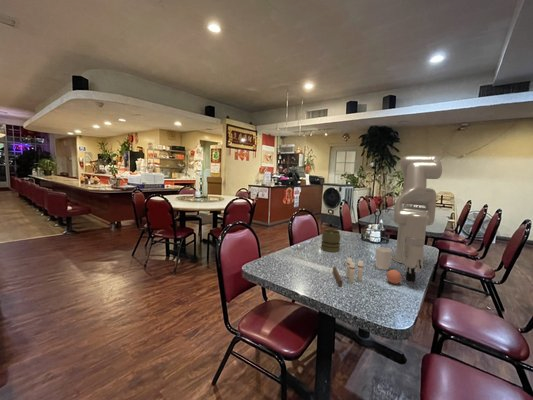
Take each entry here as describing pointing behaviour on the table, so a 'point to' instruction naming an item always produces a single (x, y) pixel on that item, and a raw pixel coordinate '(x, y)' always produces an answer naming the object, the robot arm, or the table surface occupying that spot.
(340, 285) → the walnut rail
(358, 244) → the table surface
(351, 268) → the back pin left
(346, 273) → the back pin right
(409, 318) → the table surface
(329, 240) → the piston
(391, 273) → the ball
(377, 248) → the white cup
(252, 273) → the table surface
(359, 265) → the front pin
